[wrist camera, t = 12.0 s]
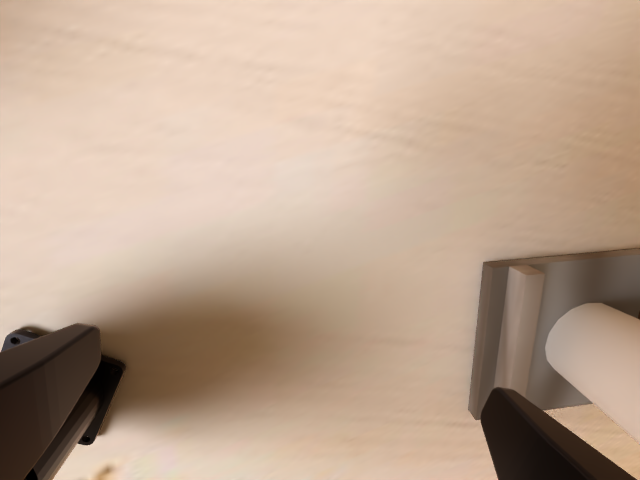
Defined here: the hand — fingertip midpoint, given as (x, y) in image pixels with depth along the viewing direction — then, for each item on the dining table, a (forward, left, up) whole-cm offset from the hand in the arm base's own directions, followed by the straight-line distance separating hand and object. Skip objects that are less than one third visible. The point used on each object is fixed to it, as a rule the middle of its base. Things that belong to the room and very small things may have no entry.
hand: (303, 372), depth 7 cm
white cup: (+2, -22, -12) cm, 25 cm away
